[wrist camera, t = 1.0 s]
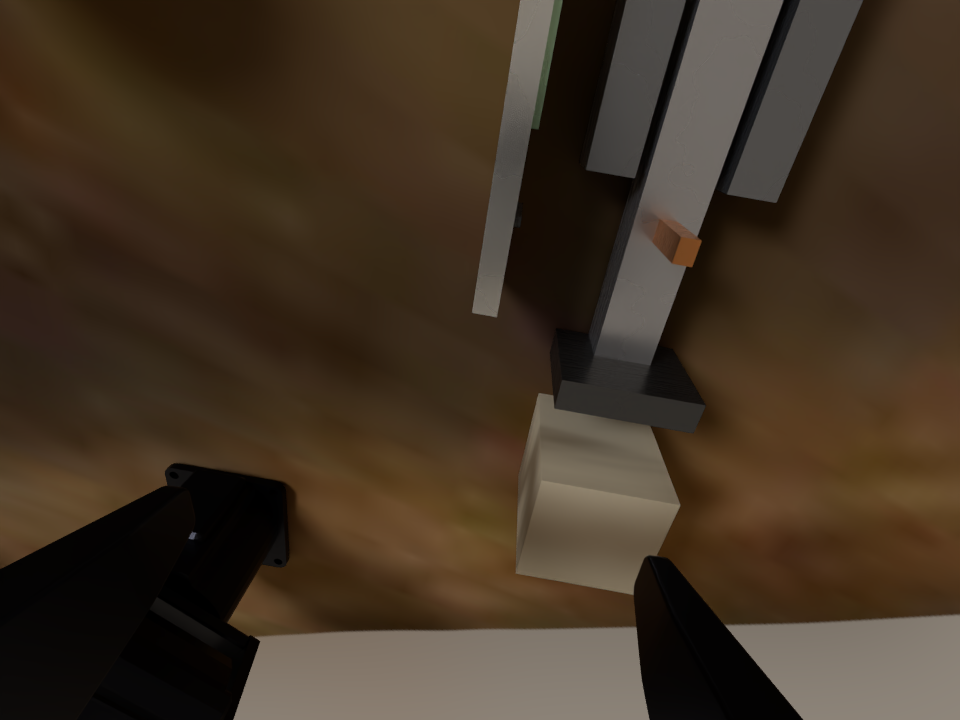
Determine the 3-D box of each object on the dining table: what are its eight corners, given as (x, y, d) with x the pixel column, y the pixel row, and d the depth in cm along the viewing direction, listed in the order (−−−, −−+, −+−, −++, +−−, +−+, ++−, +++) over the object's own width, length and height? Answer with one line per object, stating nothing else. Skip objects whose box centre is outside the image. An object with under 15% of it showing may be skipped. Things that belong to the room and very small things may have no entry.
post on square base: (663, 373, 21) (695, 436, 17) (549, 353, 21) (554, 411, 17) (855, -128, 13) (997, -232, 9) (676, -158, 13) (740, -274, 9)
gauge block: (614, 491, 25) (637, 595, 19) (518, 474, 25) (515, 573, 20) (644, 411, 22) (680, 505, 17) (538, 392, 22) (541, 480, 17)
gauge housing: (701, 305, 20) (751, 362, 15) (485, 267, 20) (472, 313, 15) (870, -120, 14) (1032, -229, 9) (555, -172, 14) (567, -305, 9)
